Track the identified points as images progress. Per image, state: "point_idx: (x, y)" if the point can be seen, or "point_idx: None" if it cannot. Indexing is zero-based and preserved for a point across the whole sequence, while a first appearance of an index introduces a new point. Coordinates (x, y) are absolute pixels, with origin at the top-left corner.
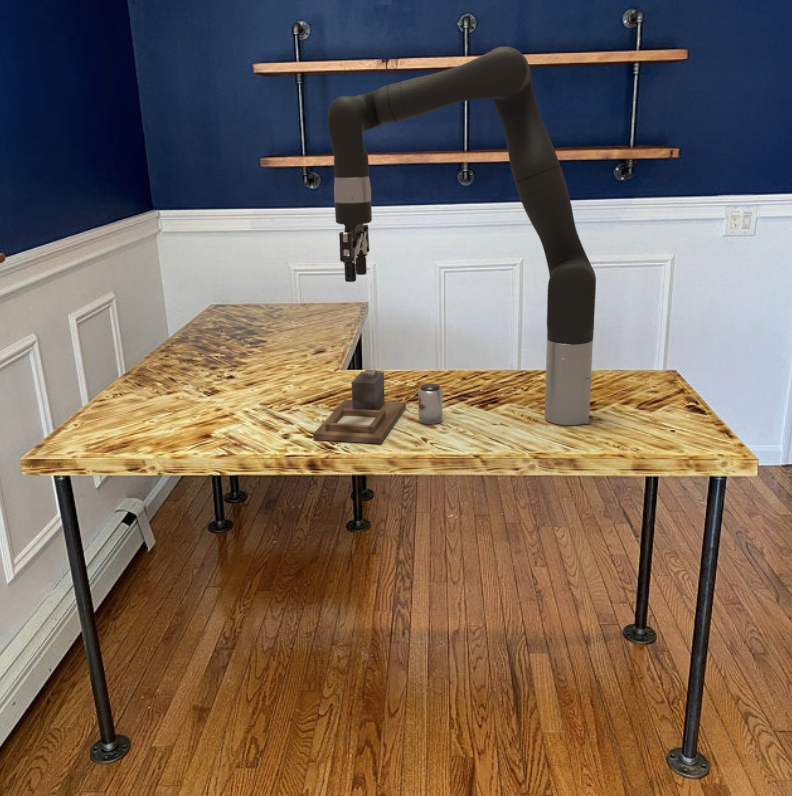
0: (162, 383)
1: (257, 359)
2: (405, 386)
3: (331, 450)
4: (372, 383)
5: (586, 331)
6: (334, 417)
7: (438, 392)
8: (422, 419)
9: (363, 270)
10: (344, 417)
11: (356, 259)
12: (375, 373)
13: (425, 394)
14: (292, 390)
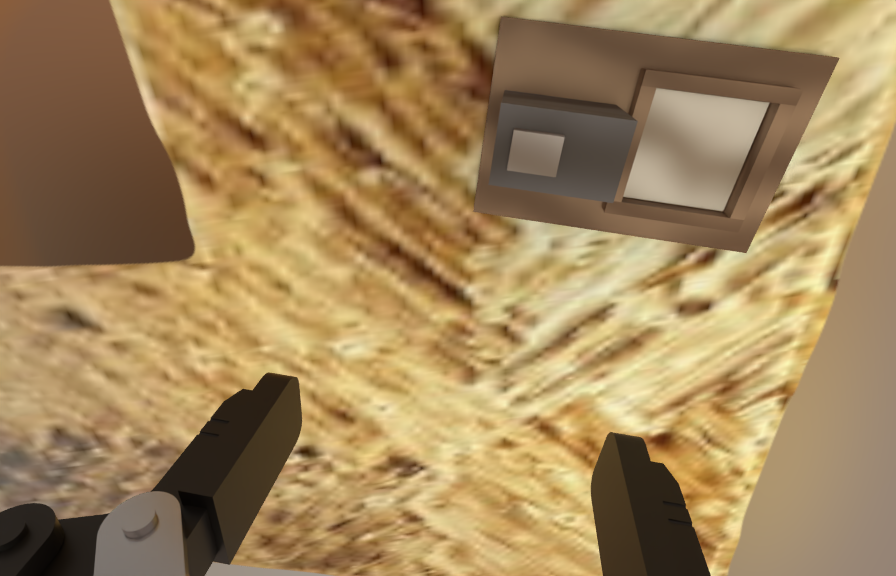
0: (363, 534)
1: (180, 426)
2: (289, 47)
3: (828, 192)
4: (635, 128)
5: None
6: (683, 216)
7: None
8: None
9: (283, 410)
10: (636, 192)
11: (238, 540)
12: (532, 131)
13: None
14: (372, 337)
